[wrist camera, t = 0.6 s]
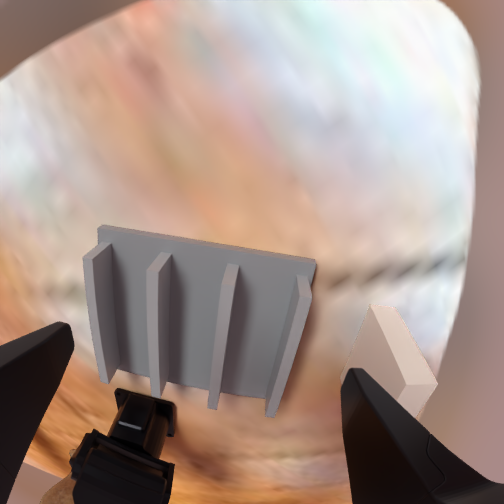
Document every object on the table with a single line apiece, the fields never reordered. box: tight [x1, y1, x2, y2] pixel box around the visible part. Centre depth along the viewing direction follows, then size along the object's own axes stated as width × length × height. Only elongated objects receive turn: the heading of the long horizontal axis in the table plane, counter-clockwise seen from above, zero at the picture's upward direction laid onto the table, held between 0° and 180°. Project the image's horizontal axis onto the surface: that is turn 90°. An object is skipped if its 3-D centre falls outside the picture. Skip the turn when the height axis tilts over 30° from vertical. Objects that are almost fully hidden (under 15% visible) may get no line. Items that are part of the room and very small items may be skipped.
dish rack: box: [83, 225, 316, 418], centre depth 23 cm, size 14×16×4 cm
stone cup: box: [40, 449, 76, 504], centre depth 32 cm, size 15×12×15 cm
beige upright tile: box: [340, 304, 438, 418], centre depth 21 cm, size 8×2×9 cm, turn 171°
